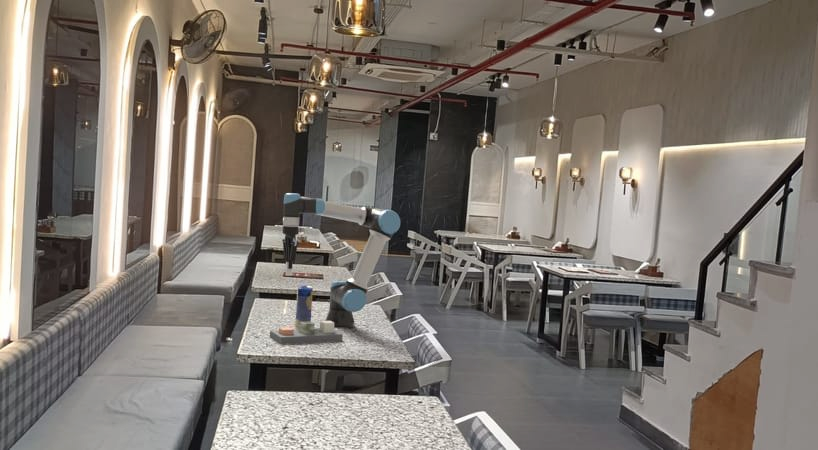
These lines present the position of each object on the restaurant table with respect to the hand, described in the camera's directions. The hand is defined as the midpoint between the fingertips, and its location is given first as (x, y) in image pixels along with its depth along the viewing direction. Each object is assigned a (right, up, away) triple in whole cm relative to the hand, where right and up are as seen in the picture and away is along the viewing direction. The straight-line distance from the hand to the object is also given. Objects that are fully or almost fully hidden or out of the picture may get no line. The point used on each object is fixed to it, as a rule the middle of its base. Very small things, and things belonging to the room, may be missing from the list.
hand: (288, 275), depth 341 cm
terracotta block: (+1, -28, -17) cm, 33 cm away
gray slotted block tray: (+10, -29, -12) cm, 33 cm away
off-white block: (+19, -26, -7) cm, 33 cm away
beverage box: (+6, -28, +6) cm, 29 cm away
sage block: (+10, -26, -12) cm, 30 cm away
